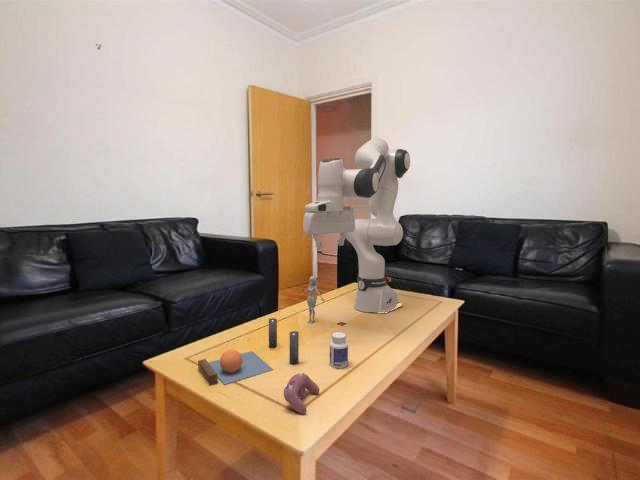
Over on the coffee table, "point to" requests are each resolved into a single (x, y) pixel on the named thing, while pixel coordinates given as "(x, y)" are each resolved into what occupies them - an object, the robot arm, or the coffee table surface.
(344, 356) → the pill bottle
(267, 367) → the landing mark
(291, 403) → the video game controller
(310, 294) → the human figurine
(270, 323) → the post
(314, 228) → the robot arm
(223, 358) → the ball
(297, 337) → the post
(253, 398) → the coffee table surface
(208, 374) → the stopper
